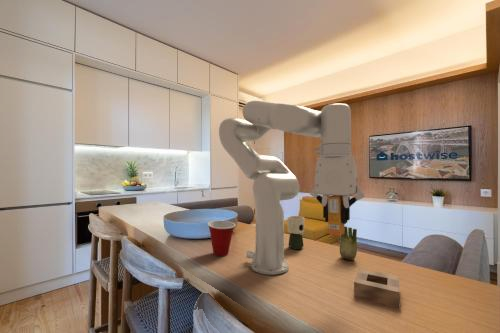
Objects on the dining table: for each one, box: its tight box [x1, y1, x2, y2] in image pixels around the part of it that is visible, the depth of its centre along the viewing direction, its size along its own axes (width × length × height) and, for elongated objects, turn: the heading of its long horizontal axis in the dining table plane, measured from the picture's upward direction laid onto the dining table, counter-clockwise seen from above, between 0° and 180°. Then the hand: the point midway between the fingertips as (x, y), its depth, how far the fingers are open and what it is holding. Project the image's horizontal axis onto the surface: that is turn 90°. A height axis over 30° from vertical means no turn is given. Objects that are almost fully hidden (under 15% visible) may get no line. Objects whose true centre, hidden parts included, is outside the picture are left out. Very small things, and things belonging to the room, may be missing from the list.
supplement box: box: [327, 195, 345, 237], centre depth 62 cm, size 3×3×10 cm
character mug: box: [287, 215, 306, 250], centre depth 102 cm, size 11×7×13 cm, turn 150°
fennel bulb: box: [339, 225, 358, 261], centre depth 89 cm, size 6×5×12 cm
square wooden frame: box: [353, 268, 400, 309], centre depth 64 cm, size 10×10×4 cm
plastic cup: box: [207, 220, 236, 257], centre depth 93 cm, size 11×11×12 cm
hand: (336, 221), depth 62 cm, fingers closed on supplement box, 3 cm apart
